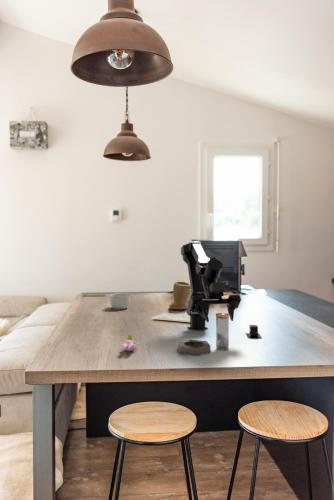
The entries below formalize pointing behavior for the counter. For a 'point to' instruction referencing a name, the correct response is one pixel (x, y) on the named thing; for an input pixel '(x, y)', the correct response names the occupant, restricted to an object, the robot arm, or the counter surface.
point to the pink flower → (129, 344)
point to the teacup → (120, 300)
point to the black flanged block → (253, 332)
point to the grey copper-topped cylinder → (222, 331)
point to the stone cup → (180, 295)
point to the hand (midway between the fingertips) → (220, 321)
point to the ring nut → (193, 347)
